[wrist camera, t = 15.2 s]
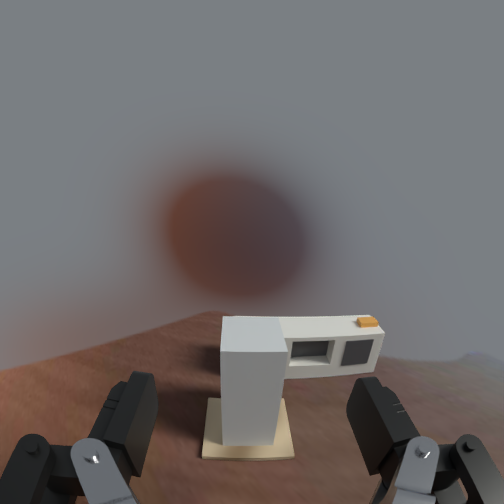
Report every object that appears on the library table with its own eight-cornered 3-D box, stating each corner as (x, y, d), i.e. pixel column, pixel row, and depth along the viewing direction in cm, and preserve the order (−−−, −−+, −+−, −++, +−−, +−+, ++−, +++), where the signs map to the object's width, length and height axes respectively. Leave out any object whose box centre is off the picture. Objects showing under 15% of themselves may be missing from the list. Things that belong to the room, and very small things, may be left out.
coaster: (202, 458, 19) (201, 456, 19) (208, 400, 27) (208, 397, 27) (293, 458, 20) (294, 456, 20) (283, 401, 27) (283, 398, 27)
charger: (222, 445, 21) (220, 351, 18) (224, 395, 27) (224, 305, 25) (273, 445, 21) (287, 351, 18) (266, 396, 28) (275, 306, 25)
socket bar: (232, 379, 31) (233, 333, 29) (233, 355, 36) (234, 311, 34) (373, 372, 32) (386, 329, 30) (360, 351, 37) (370, 310, 35)
